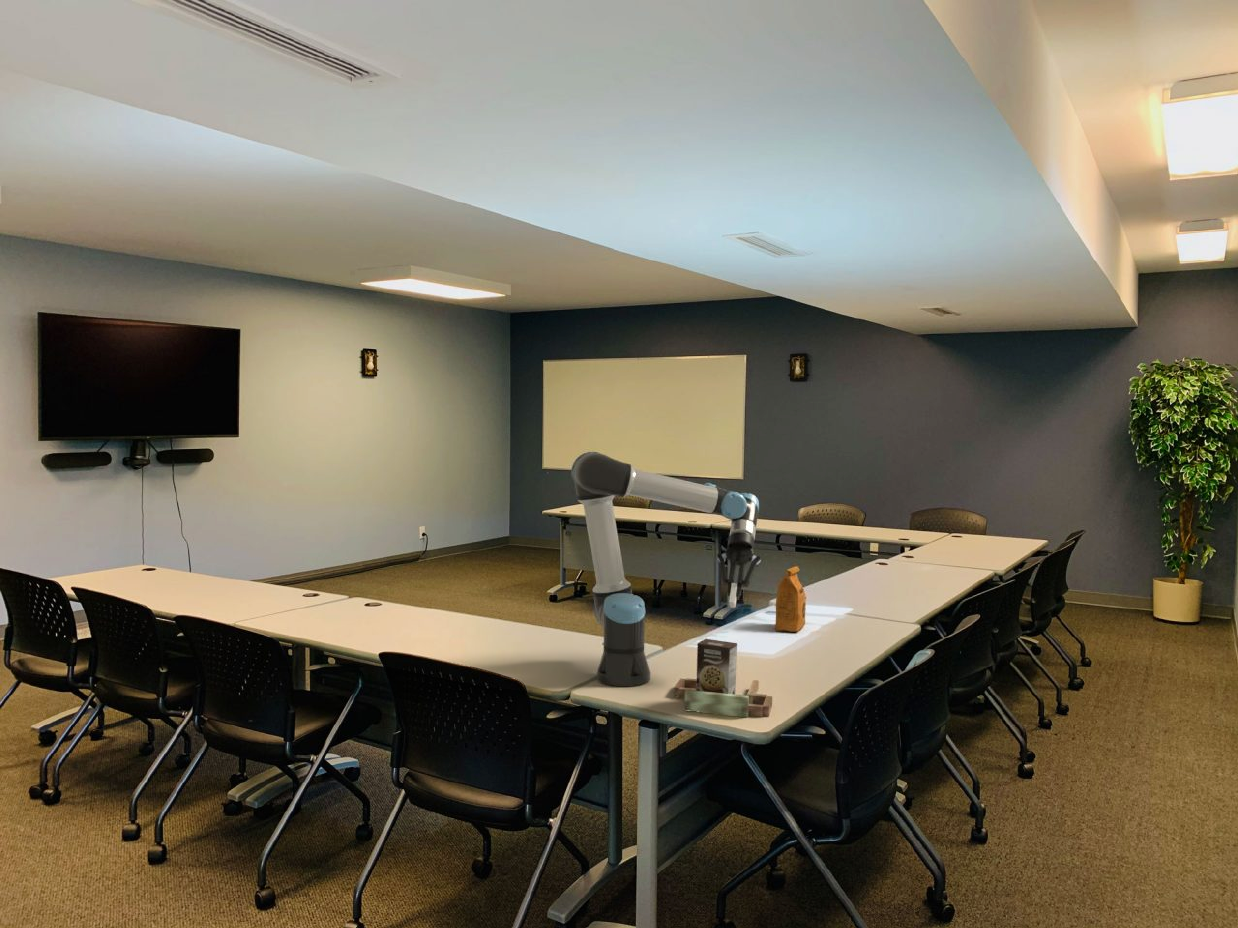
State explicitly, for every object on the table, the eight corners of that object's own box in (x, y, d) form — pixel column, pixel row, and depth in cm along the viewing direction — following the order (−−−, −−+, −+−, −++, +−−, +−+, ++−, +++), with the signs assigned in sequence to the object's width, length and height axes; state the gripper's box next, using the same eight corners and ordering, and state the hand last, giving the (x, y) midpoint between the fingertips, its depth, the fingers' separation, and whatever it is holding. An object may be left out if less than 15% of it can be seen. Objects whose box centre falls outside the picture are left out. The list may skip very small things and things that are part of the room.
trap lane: (665, 708, 222) (665, 689, 222) (683, 682, 245) (683, 664, 244) (767, 719, 215) (768, 699, 215) (776, 691, 238) (777, 673, 237)
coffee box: (695, 704, 226) (696, 643, 225) (704, 697, 232) (705, 637, 231) (728, 709, 222) (729, 647, 221) (736, 702, 228) (737, 641, 227)
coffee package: (809, 627, 311) (811, 566, 310) (798, 634, 301) (799, 571, 299) (783, 623, 316) (784, 564, 315) (771, 630, 306) (772, 569, 304)
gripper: (764, 547, 260) (756, 614, 245) (721, 544, 264) (710, 610, 248) (763, 531, 255) (754, 599, 240) (718, 529, 258) (707, 595, 243)
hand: (732, 604), depth 244 cm, fingers closed
